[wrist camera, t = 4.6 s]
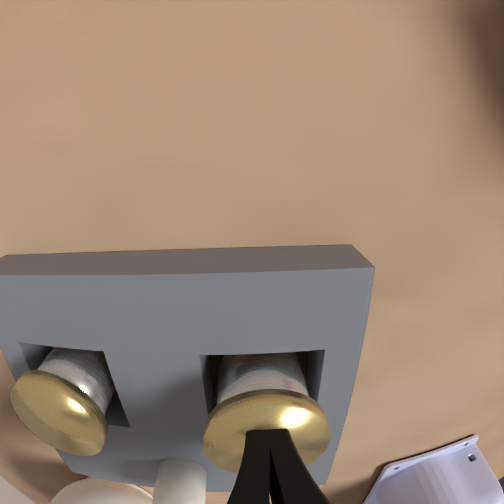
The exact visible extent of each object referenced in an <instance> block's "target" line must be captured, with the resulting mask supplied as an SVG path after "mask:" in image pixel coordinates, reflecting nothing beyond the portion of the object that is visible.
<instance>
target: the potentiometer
mask: <svg viewBox="0 0 504 504" xmlns="http://www.w3.org/2000/svg"><path fill="white" fill-rule="evenodd" d="M206 479H207V471H206V469H205V468H204V467H203V466H201V465H200V464H198V463H196V462H193V461H190V460H186V459H179V458H171V459H166V460H163V461H161V462H160V463H159V467H158V472H157V477H156V483H155V488H154V494H153V500H152V504H205V497H206Z"/></svg>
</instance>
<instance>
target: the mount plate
mask: <svg viewBox="0 0 504 504" xmlns="http://www.w3.org/2000/svg"><path fill="white" fill-rule="evenodd" d="M374 271H375V267H374V266H373V265H372V264H371V263H370V262H369V261H368V260H367V259H366V258H365V257H364V256H363V255H362V254H361V253H360V252H359V251H358V250H357V249H356V248H355V247H354V246H353V245H316V246H278V247H243V248H208V249H175V250H144V251H113V252H83V253H55V254H27V255H6V256H4V257H2V258H1V259H0V347H1V349H2V352H3V354H4V356H5V358H6V361H7V363H8V365H9V367H10V369H11V372H12V374H13V376H14V378H15V380H16V382H17V380H18V379H19V378H20V376H21V375H22V374H23V373H24V372H27V371H30V370H37V369H38V368H39V366H40V365H41V364H42V362H43V361H44V360H45V358H46V357H47V355H48V354H49V353H50V351H51V350H52V349H53V347H62V348H71V349H82V350H93V351H104V354H105V357H106V360H107V364H108V367H109V370H110V373H111V376H112V379H113V382H114V385H115V387H116V390H117V391H114V394H113V396H112V399H111V401H110V403H109V406H108V408H107V411H106V413H105V418H106V420H107V423H108V434H107V437H106V439H105V442H104V445H103V448H102V450H101V451H100V452H99V453H97V454H95V455H92V456H78V455H73V454H69V453H66V452H64V451H61V450H59V449H57V448H55V449H56V450H57V452H58V453H59V455H60V456H61V458H62V459H63V460H64V462H65V463H66V465H67V466H68V467H69V469H70V470H71V471H72V472H74V473H78V474H82V475H86V476H90V477H95V478H100V479H104V480H109V481H115V482H120V483H126V484H133V485H139V486H147V487H155V483H156V477H157V472H158V467H159V463H160V462H161V461H163V460H166V459H171V458H179V459H186V460H190V461H193V462H196V463H198V464H200V465H201V466H203V467H204V468H205V469H206V471H207V479H206V491H212V492H232V490H233V487H234V484H235V481H236V478H237V475H238V474H235V473H232V472H229V471H226V470H224V469H222V468H220V467H219V466H217V465H215V464H214V463H213V462H212V461H211V460H210V459H209V458H208V457H207V455H206V454H205V451H204V448H203V437H204V426H205V421H206V418H207V416H208V415H209V413H210V412H211V411H212V410H213V409H214V408H215V407H216V406H217V396H213V388H212V380H211V372H210V363H209V355H235V354H264V353H283V352H299V351H309V352H308V363H307V372H306V381H305V383H306V387H307V391H308V395H309V397H310V398H312V399H314V400H315V401H316V402H318V403H319V405H320V406H321V407H322V408H323V410H324V412H325V415H326V419H327V422H328V425H329V429H330V434H331V438H330V442H329V445H328V447H327V449H326V450H325V451H324V453H323V454H322V455H321V456H320V457H319V458H318V459H316V460H315V461H314V462H312V463H310V464H309V465H307V466H306V468H307V470H308V471H309V473H310V475H311V476H312V478H313V480H314V481H315V483H316V484H317V485H324V484H326V482H327V479H328V476H329V473H330V470H331V467H332V464H333V461H334V457H335V454H336V451H337V448H338V444H339V441H340V437H341V434H342V430H343V427H344V423H345V419H346V416H347V412H348V408H349V404H350V400H351V396H352V392H353V388H354V383H355V379H356V375H357V370H358V365H359V361H360V356H361V351H362V346H363V341H364V335H365V330H366V324H367V318H368V312H369V306H370V300H371V293H372V286H373V279H374Z"/></svg>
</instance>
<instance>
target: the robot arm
mask: <svg viewBox="0 0 504 504" xmlns="http://www.w3.org/2000/svg"><path fill="white" fill-rule="evenodd" d="M478 438H479V437H478V435H473V436H471V437H468V438H466V439H463V440H461V441H458V442H456V443H453V444H450V445H448V446H445V447H442V448H439V449H436V450H433V451H430V452H427V453H424V454H421V455H418V456H415V457H411V458H408V459H404V460H401V461H397V462H393V463H390V464H388V465H386V466H385V467H384V468H383V470H382V472H381V473H380V475H379V477H378V479H377V481H376V482H375V484H374V486H373V488H372V489H371V491H370V493H369V495H368V496H367V498H366V500H365V501H364V503H363V504H504V494H503V490H502V487H501V485H500V483H499V482H498V480H497V478H496V476H495V475H494V473H493V471H492V470H491V468H490V466H489V465H488V463H487V461H486V460H485V458H484V457H483V455H482V453H481V452H480V450H479V449H478V447H477V445H476V444H475V443H476V442H477V440H478ZM269 491H270V496H271V501H272V504H330V502H329V501H328V500H327V498H326V497H325V496H324V494H323V493H322V491H321V490H320V489H319V487H318V486H317V484H316V483H315V481H314V480H313V478H312V476H311V475H310V473H309V471H308V470H307V468H306V466H305V465H304V463H303V461H302V459H301V457H300V455H299V453H298V451H297V449H296V447H295V445H294V442H293V440H292V438H291V435H290V432H289V430H288V429H286V428H283V429H269V430H249V431H247V432H246V436H245V447H244V452H243V457H242V461H241V465H240V469H239V472H238V475H237V478H236V481H235V484H234V487H233V490H232V492H231V495H230V497H229V500H228V502H227V504H269Z"/></svg>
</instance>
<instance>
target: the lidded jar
mask: <svg viewBox="0 0 504 504" xmlns="http://www.w3.org/2000/svg"><path fill="white" fill-rule="evenodd" d="M152 500H153V496H152V495H151V494H150V493H149V492H147V491H146V490H144V489H143V488H141V487H139V486H137V485H133V484H126V483H120V482H115V481H109V480H104V479H100V478H95V477H90V476H88V477H87V478H86V479H83V480H78V481H75V482H73V483H70V484H68V485H67V486H65V487H64V488H62V489H61V490H60V491H59V492H58V493H57V494H56V495H55V497H54V498H53V499H52V500H51V502H50V504H152Z"/></svg>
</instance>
